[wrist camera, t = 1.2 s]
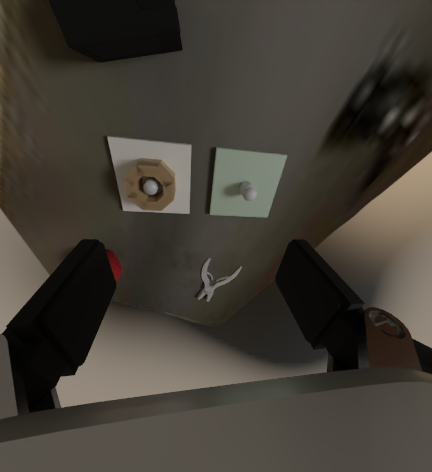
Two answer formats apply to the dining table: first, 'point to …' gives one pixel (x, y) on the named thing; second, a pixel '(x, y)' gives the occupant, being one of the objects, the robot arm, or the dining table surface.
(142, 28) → the digital camera
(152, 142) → the stand
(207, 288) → the pliers
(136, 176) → the collar
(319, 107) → the dining table surface
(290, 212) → the dining table surface
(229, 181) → the plate
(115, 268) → the strawberry
